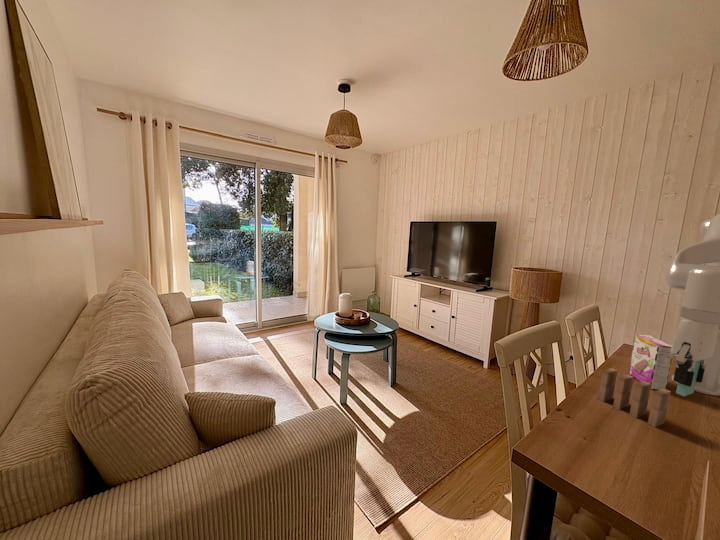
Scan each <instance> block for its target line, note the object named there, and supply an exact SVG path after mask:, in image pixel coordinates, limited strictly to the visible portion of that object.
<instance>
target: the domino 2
mask: <svg viewBox="0 0 720 540" xmlns="http://www.w3.org/2000/svg"><path fill="white" fill-rule="evenodd" d="M634 379H635V378H634V377H633V376H631V375H630V374H629V373H627V374H623V375H620V376H617V380H616V387H615V391H614V392H615V393H614V398H613V404H612V407H613V408H615V409H617V410H621V409H624V408H626V407H629V405H630V398H631V394H632V390H633V389H632V387H633V384H634Z"/></svg>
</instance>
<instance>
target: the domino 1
mask: <svg viewBox="0 0 720 540" xmlns="http://www.w3.org/2000/svg"><path fill="white" fill-rule="evenodd" d="M618 371H619V370H618V369H615V368H612V367H611V368H607V369H603V370H602V373H601V379H600V385H599V390H598V394H597V396H598V397H597V400H599V401H601V402H603V403H604V402H607V401H609V400H614V398H613V397H614V395H615V393H614V392H615V389H616V387H615V386H616V384H617V378H618Z"/></svg>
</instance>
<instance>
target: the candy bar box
mask: <svg viewBox="0 0 720 540" xmlns="http://www.w3.org/2000/svg"><path fill="white" fill-rule="evenodd" d="M634 336H635V337H634V341H633V347H632V352H631V359H630V364H629V370H628V375H632V376H633V377H635V378H636V380H637V381H638V380H639V383H640V382H643V381H646V382H649V383H651V389H650V390H652V389H655V390H654V391H657V390H660V389H663V388H664V389H666V390H667V385H668V380H669V376H670V371H671V366H672V360H673V357H674V355H672V354H671V348H672V344H671V345H670V344H668V343H667V342H664V341H663V340H660V339H658V338H656V337H654V336H652V335H648V334H639V333H635V335H634ZM635 378H634V379H635Z"/></svg>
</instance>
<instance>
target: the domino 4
mask: <svg viewBox="0 0 720 540" xmlns="http://www.w3.org/2000/svg"><path fill="white" fill-rule="evenodd" d="M671 392H672V391H671V390H669V389H667V388H666V389H664V388H663V389H660V390H653V395H652V400H651V405H650V410H649V415H648V420H647V425H650V426H652V427H653V428H657V427H659V426H661V425H663V424H665V420H666V415H667V411H668V406H669V403H670V397H671Z"/></svg>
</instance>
